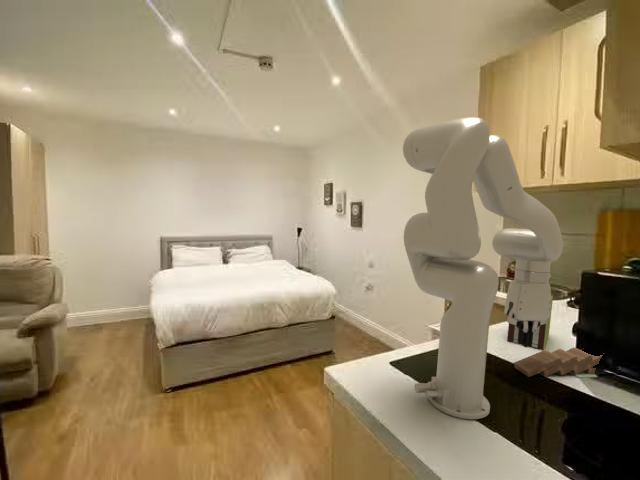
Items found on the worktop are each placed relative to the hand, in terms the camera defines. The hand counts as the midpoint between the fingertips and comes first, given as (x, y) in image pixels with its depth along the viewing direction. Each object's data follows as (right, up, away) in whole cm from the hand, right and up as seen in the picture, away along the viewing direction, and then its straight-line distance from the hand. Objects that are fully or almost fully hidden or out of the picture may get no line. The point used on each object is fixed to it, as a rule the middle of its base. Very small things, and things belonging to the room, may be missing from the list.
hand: (524, 345), depth 87 cm
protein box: (+17, -6, +25) cm, 31 cm away
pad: (+16, -8, +3) cm, 18 cm away
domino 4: (+13, -7, +2) cm, 15 cm away
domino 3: (+9, -7, +2) cm, 11 cm away
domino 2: (+4, -7, +1) cm, 8 cm away
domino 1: (-1, -7, +1) cm, 7 cm away
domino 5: (+17, -7, +3) cm, 19 cm away
